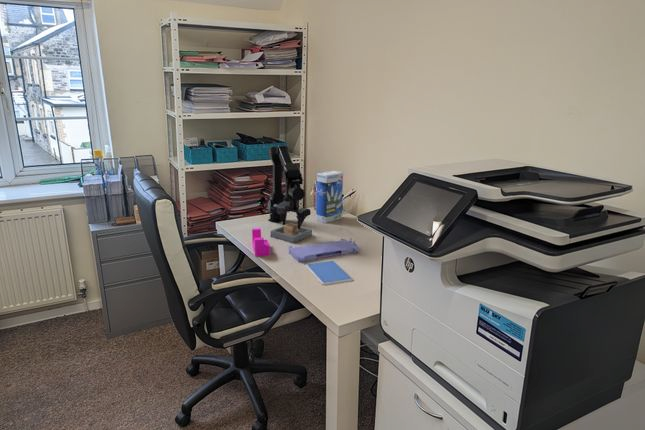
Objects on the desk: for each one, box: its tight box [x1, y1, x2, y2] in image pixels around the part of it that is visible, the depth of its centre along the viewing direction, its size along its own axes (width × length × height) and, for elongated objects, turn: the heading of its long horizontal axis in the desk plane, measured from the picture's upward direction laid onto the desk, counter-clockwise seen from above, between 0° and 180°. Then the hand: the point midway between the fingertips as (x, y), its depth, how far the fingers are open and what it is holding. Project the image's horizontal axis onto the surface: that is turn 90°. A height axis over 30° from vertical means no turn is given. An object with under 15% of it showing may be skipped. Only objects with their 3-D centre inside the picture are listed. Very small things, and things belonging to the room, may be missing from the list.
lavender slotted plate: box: [288, 237, 360, 263], centre depth 188 cm, size 30×4×15 cm
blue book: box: [305, 260, 354, 286], centre depth 168 cm, size 19×13×1 cm, turn 22°
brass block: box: [283, 222, 299, 236], centre depth 206 cm, size 5×5×5 cm
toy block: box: [251, 227, 271, 257], centre depth 189 cm, size 15×6×8 cm, turn 14°
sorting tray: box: [270, 225, 313, 244], centre depth 207 cm, size 14×14×3 cm
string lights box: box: [315, 170, 344, 224], centre depth 231 cm, size 13×8×26 cm, turn 136°
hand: (291, 226), depth 206 cm, fingers open, 9 cm apart
